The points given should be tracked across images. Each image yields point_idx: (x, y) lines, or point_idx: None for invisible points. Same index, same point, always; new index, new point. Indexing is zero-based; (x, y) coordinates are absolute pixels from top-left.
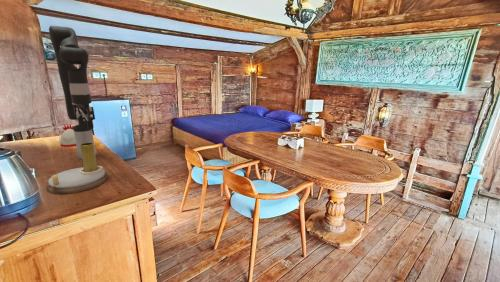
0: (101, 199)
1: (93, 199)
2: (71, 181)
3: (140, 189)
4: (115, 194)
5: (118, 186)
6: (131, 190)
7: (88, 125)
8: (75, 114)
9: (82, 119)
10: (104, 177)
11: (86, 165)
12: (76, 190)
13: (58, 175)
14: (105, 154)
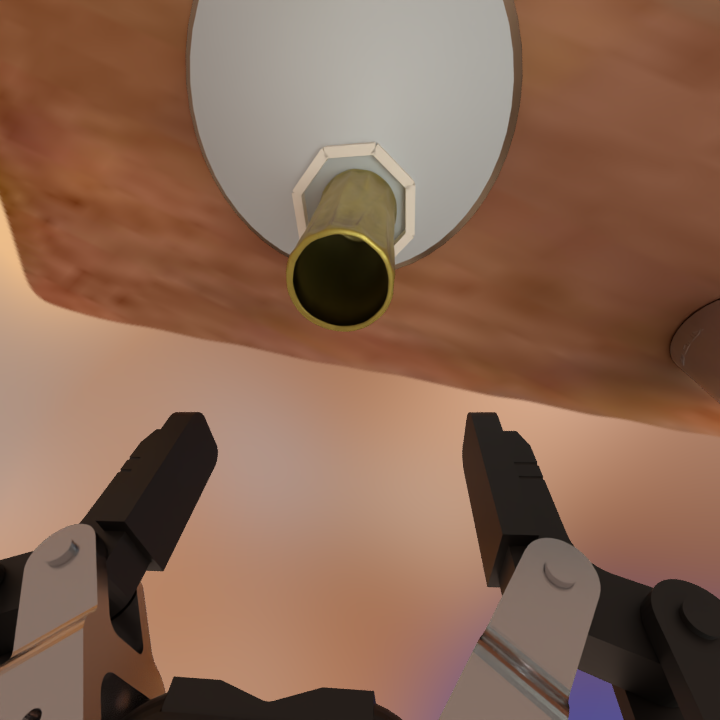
0: (28, 98)
1: (48, 66)
2: (261, 34)
3: (63, 274)
4: (59, 177)
5: (150, 232)
6: (71, 246)
7: (151, 449)
8: (684, 672)
9: (484, 553)
10: (252, 228)
11: (329, 191)
12: None
13: (460, 7)
14: (638, 398)
